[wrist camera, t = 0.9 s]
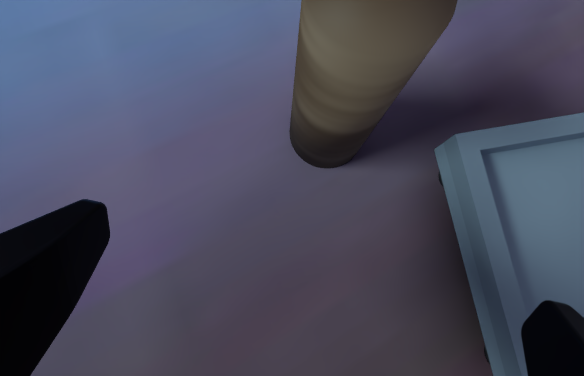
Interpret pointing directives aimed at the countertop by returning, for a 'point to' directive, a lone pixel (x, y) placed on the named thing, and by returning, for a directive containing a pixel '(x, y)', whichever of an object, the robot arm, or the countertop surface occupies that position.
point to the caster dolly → (517, 224)
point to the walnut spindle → (355, 69)
